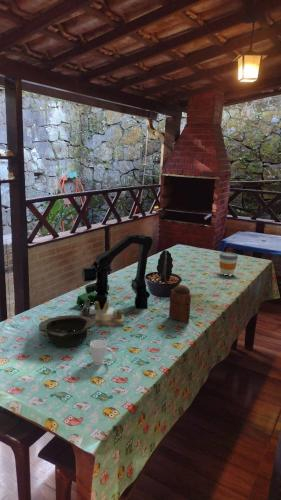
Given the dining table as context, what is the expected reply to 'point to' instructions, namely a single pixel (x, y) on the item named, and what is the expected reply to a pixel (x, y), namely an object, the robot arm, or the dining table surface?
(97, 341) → the cup
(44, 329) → the stone bowl
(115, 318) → the plane body
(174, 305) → the wooden figurine
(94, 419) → the dining table surface
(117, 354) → the dining table surface
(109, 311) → the mat
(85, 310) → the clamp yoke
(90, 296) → the green lumpy block
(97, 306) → the olive wooden block
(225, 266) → the reusable coffee cup
